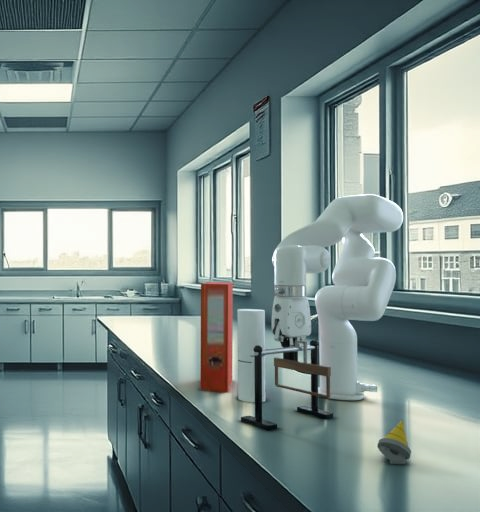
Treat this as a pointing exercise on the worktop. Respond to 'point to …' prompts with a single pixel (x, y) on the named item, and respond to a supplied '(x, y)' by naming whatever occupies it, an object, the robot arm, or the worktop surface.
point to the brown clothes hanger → (303, 370)
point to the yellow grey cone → (395, 445)
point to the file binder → (216, 336)
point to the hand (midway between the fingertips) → (290, 362)
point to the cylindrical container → (249, 351)
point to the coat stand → (258, 420)
